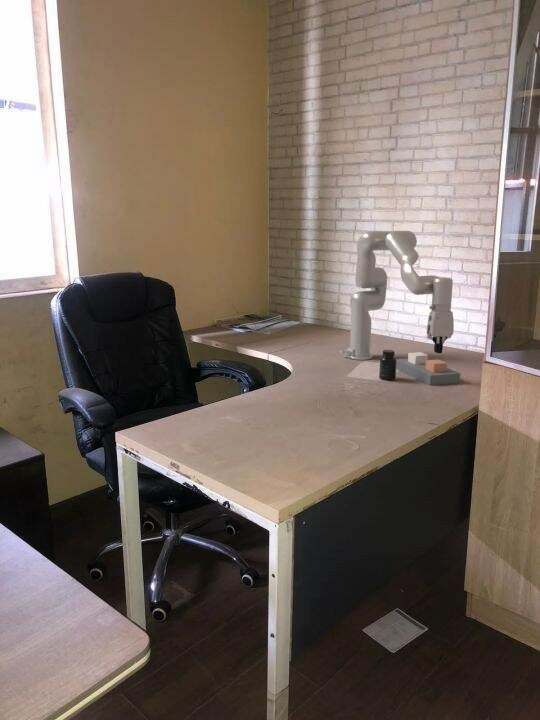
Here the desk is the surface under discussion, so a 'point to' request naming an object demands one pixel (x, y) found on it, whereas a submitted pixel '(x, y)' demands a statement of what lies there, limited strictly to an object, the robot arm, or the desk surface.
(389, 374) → the supplement bottle
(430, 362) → the terracotta key
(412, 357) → the off-white key
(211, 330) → the desk surface
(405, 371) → the key panel
